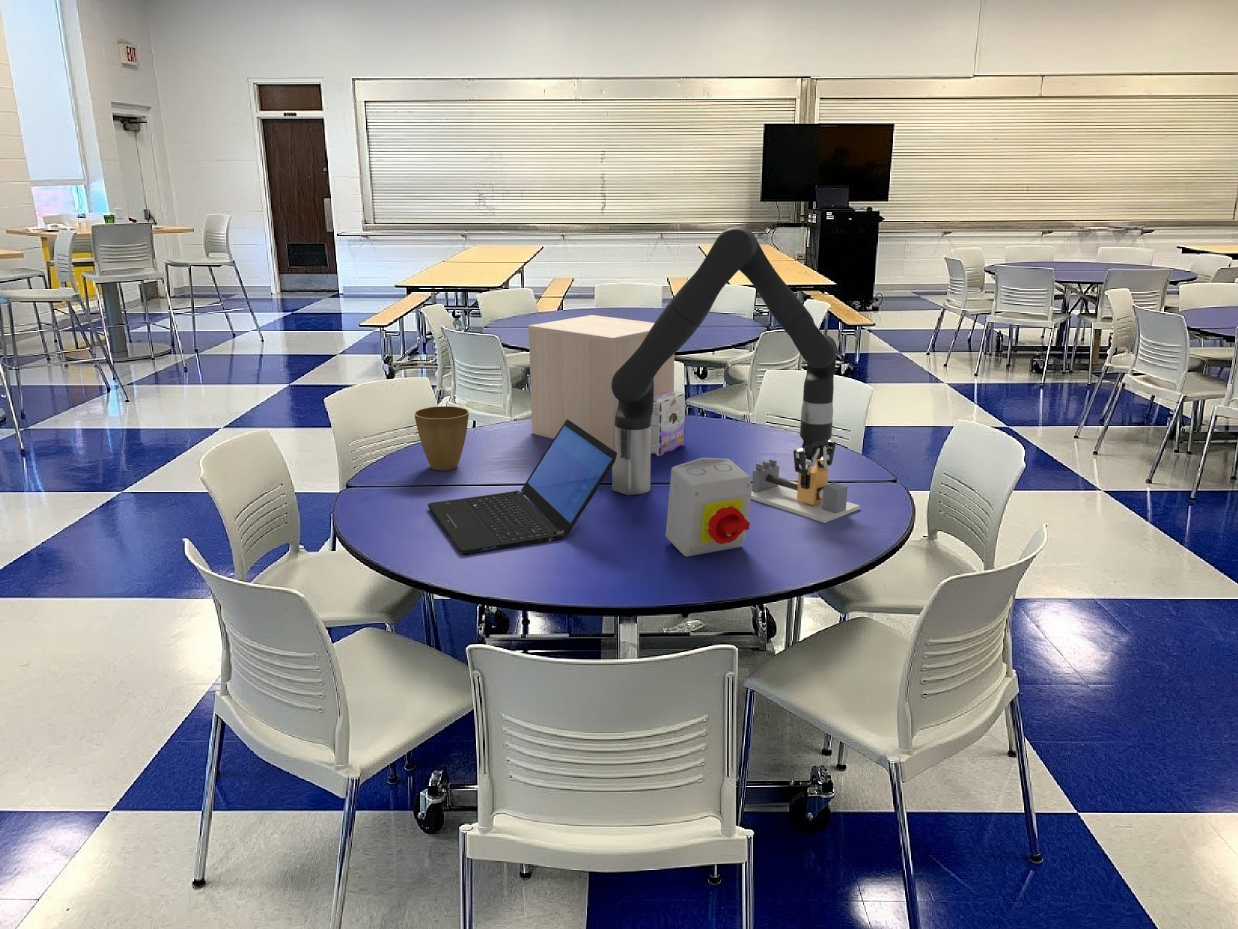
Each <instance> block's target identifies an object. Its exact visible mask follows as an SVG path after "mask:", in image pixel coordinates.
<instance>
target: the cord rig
mask: <svg viewBox="0 0 1238 929" xmlns="http://www.w3.org/2000/svg"><path fill="white" fill-rule="evenodd" d="M777 463H778V462H777V460H776V459H772V458H770V459H769V460H768V461H765V460H763V461H762V463H758V462H756V463H755V469H753V470H752V481H751V491H752V493H751V500H752V501H756V502H758V503H762V504H765V505H767V506H770V507H774V508H777V509H780V510H783V511H786V512H789V513H793V514H796V515H799V516H801V517H805V518H807V519H811V520H814V521H817V522H819V523H820V522H821V523H823V524H826V523H828V522H830V521H831V522H832V521H833V520H836V519H839V518H841V517H843V516H844V517H845V516H846V515H849V514H851V513H853V512H856V511H858V510H860V508H861V507H860V506H861V505H860V504H855V503H852V502H848V501H847V497H848V488H849V486H847V485H845V484H840V483H839V482H836V481H835V482H830V483H827V485H825V486H824V489H822V490H821V489H817V494H816V497H819V498H820V499H823V502H821V503H818V504H815V505H811V504H808V503H805V502H801V501H798V500H797V490H798V481H794V480H791V479H786V478H783V477H780V465H778V464H777Z"/></svg>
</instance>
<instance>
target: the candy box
mask: <svg viewBox="0 0 1238 929" xmlns="http://www.w3.org/2000/svg"><path fill="white" fill-rule="evenodd" d="M685 421H686V393H685V392H679V391H674V392H673V391H668V392H666V393H663V394H660V395H657V396H654V398H653V413H652V417H651V456H656V457H660V456H663V455H666V454H667V453H670V452H672V451H674V450H677V449H679V448H681V447H683V446H685V445H686V444H685V440H686V439H685V438H686V436H685V435H686V434H685V433H686V431H685V430H686V429H685V427H686V426H685V425H686V422H685Z"/></svg>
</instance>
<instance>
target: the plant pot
mask: <svg viewBox="0 0 1238 929" xmlns="http://www.w3.org/2000/svg"><path fill="white" fill-rule="evenodd" d="M469 412H470V411H469V409H467V408H464V407H460V406H450V405H446V406H445V405H442V406H430V407H424V408H420V409H418V410H416V411H415V412H414V415H413V416H414V420H415V425H416V429H417V433H418V437H419V440H420V443H421V447H422V449H423V452H424V455H425V457H426V460H427V463H428V464H429V466H430V469H431V470H434V471H451V470H455V469H456V468H458V467H459V466H458V465H459V464H460V463H459V462H460V461H461V460H460V459H461V457H462V453H463V451H464V446H465V441H466V436H467V431H468V426H469V425H468V424H469V417H470V416H469V414H470V413H469Z"/></svg>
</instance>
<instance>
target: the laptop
mask: <svg viewBox="0 0 1238 929" xmlns="http://www.w3.org/2000/svg"><path fill="white" fill-rule="evenodd" d="M552 439H553V438H552ZM616 456H617V453H616V452H615V451H614V450H612V449H611V448H609V447H608V446H606V445H605V444H603V443H602V442H601V441H599V440H598V439H596V438H595V437H593V436H592V435H590V434H589V433H587V432H586V431H584V430H583V429H581V428H580V427H578V426H577V425H575V424H574V423H573V422H571V421H570V420H568V419H567V420H566V421H565V423H564V424H563V426H562V427H561V429H560V430H559V432H558V433H557V435H556V436H555V438H554V439H553V440H551V442H550V444H549V445H548V447H547V449H546V450H545V452H544V453H543V455H542V456H541V458H540V460H539V461H538V463H537V464H536V466H535V467H534V468H533V470H532V472H531V474H530V475H529V477H528V478H527V480H526V481H525V483H524V484H523V486H522V488H521V490H514V491H513V490H511V491H507V492H506V491H504V492H497V493H493V494H492V493H491V494H485V495H479V496H472V497H464V498H457V499H449V500H440V501H434V502H429V503H427V505H428V506H427V507H428V509H429V510H430V512H431V513H433V515H434V517H435V518H436V519H437V521H438V523H439V525H441V527H442V529H443V530H444V532H445V533H446V535H447V536H448V537H449V538H450V541H451V542H452V543H453V544H454V546H455V547H456V550H458V551H459V552H460V553H461V554H462V555H472V554H478V553H486V552H491V551H494V550H500V549H505V548H513V547H518V546H519V547H520V546H526V545H532V544H537V543H538V544H539V543H544V542H553V541H556V540H560V539H563V537H565V536H568V535H569V534H570V532H571V530H572V529H573V527H574V526H575V524H576V522H578V519H579V518H580V516H581V515H582V513H583V512H584V510H585V509H586V507H587V506H588V505H589V503H590V502H591V500H592V498H593V497H594V496H595V494H596V492H597V491H598V489H599V488H600V486H601V484H602V483H603V481H604V480H605V478H606V477H607V475H608V473H609V472H610V470H612V466H613V464H614V463H615V460H616Z"/></svg>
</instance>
